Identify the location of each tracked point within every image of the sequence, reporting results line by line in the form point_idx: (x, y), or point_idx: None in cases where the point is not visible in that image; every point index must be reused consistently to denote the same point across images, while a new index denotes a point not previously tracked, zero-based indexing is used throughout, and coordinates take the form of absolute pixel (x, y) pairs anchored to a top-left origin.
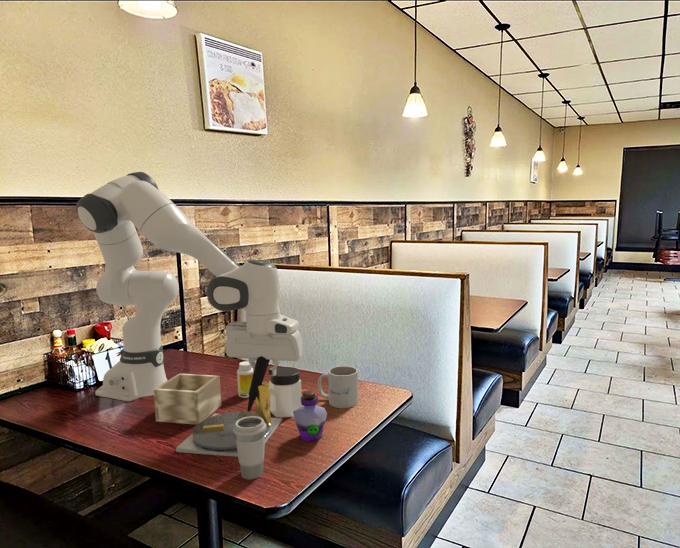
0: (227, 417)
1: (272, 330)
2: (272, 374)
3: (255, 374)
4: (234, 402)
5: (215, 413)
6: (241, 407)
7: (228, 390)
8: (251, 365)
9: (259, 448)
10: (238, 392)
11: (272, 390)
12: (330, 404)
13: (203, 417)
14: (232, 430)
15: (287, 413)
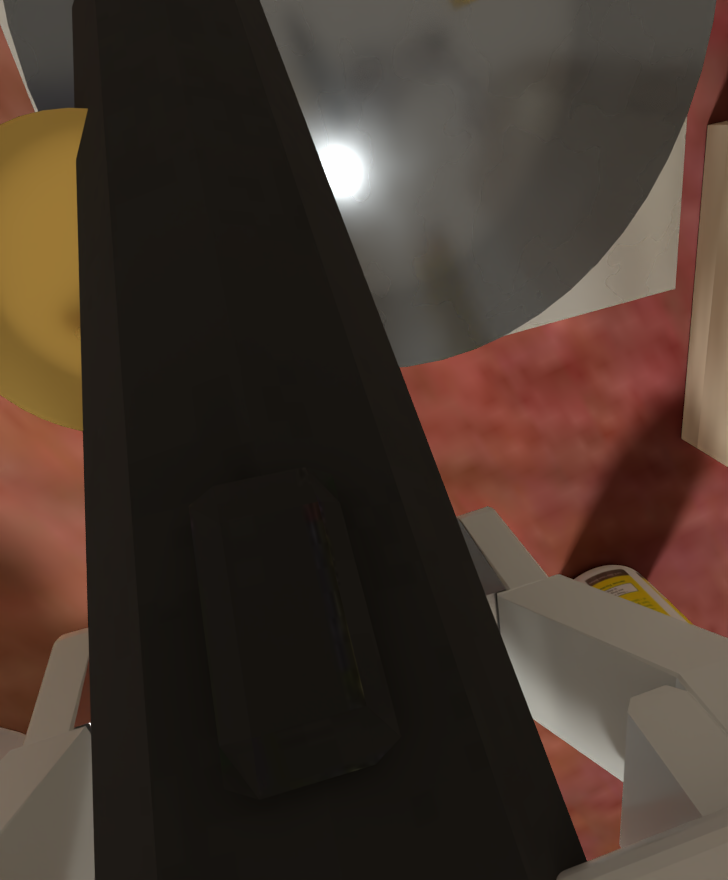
0: (540, 202)
1: None
2: (85, 641)
3: (260, 283)
4: (622, 502)
5: (667, 290)
6: (552, 470)
7: (714, 596)
8: (623, 613)
9: None
10: (647, 582)
11: None
12: (5, 744)
13: (722, 196)
14: None
15: None
